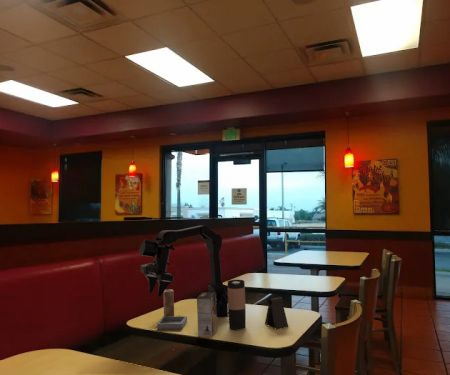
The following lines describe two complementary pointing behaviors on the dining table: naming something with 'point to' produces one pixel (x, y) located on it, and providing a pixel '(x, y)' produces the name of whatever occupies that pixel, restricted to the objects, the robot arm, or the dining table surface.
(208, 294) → the coffee box
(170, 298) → the tan cylinder
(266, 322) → the door stopper
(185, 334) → the dining table surface
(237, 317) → the travel mug
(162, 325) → the tray
